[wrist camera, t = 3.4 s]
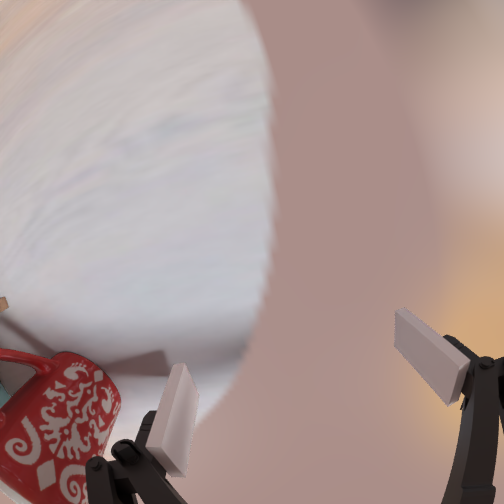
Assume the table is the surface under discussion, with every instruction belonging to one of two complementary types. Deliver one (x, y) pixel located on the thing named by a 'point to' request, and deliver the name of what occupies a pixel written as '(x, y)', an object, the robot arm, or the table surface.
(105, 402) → the mug
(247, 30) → the table surface
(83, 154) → the table surface
